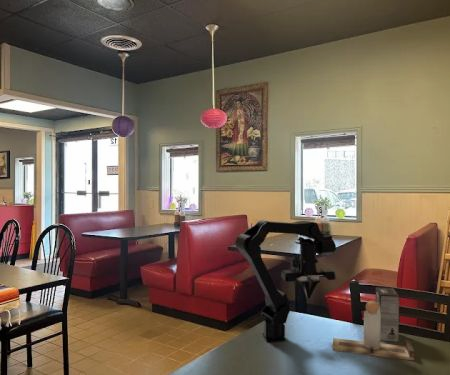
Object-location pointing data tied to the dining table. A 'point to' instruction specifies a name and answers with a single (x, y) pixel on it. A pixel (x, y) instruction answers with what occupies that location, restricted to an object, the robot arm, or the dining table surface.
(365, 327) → the post
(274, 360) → the dining table surface
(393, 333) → the coffee box
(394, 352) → the level stand
